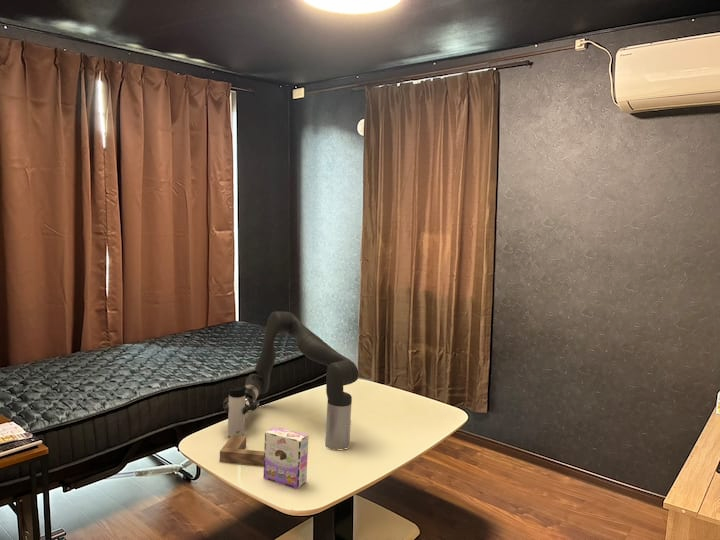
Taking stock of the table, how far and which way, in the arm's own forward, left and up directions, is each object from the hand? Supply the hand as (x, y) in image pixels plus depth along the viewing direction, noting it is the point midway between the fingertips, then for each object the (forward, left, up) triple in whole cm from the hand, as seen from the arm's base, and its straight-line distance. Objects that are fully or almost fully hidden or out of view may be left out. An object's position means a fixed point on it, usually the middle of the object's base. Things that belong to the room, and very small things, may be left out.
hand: (235, 411), depth 209 cm
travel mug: (0, -2, -11) cm, 11 cm away
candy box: (-26, +28, -11) cm, 40 cm away
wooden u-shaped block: (-12, +13, -11) cm, 21 cm away
